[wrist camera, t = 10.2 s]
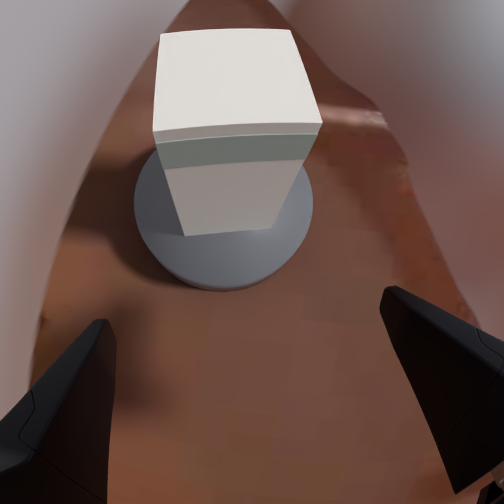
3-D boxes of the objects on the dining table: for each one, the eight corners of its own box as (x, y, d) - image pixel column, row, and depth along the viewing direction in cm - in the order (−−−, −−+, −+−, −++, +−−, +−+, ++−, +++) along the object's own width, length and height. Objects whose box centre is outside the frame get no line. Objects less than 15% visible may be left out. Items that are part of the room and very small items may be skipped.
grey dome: (316, 277, 21) (331, 268, 18) (152, 302, 20) (141, 297, 17) (282, 139, 24) (290, 116, 21) (141, 156, 22) (133, 133, 19)
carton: (271, 228, 18) (323, 123, 9) (184, 236, 18) (152, 132, 8) (259, 154, 20) (290, 30, 10) (180, 160, 19) (160, 33, 9)
